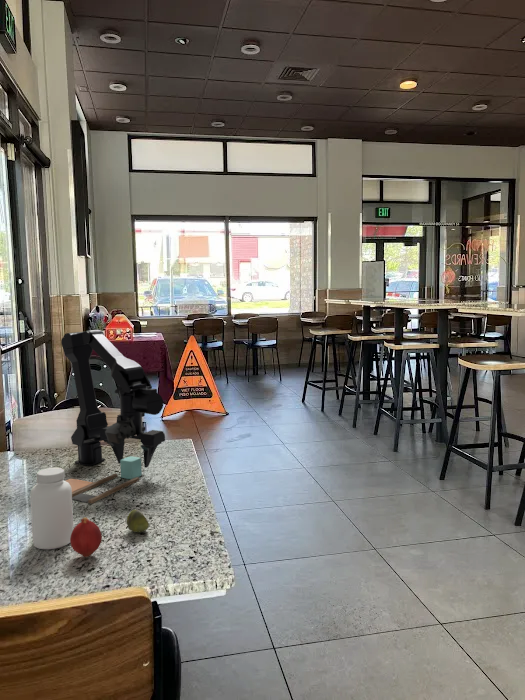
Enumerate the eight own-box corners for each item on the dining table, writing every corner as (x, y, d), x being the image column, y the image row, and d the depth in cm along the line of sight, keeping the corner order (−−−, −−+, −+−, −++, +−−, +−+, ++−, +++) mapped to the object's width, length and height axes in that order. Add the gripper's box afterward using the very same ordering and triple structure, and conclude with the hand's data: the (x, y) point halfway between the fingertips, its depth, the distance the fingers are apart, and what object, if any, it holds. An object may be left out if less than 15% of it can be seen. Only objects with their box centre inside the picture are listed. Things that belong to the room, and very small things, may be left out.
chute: (65, 498, 139) (65, 495, 139) (114, 476, 155) (114, 473, 155) (91, 503, 136) (91, 500, 135) (139, 480, 152) (139, 477, 151)
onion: (75, 550, 111) (73, 511, 110) (105, 548, 112) (103, 510, 111) (68, 564, 105) (65, 524, 105) (99, 563, 106) (97, 522, 105)
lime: (129, 527, 122) (128, 505, 121) (151, 527, 121) (151, 505, 121) (124, 536, 117) (123, 513, 117) (147, 536, 117) (146, 513, 116)
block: (120, 477, 154) (120, 460, 154) (130, 473, 158) (130, 456, 157) (131, 479, 153) (131, 461, 152) (141, 475, 156) (141, 458, 155)
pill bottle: (82, 536, 118) (78, 467, 116) (56, 553, 110) (52, 479, 108) (51, 531, 120) (47, 463, 119) (24, 547, 113) (19, 475, 111)
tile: (48, 490, 145) (47, 487, 145) (71, 481, 152) (71, 478, 152) (70, 495, 141) (70, 492, 141) (93, 485, 148) (93, 482, 148)
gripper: (84, 413, 151) (87, 469, 153) (139, 419, 143) (141, 478, 145) (112, 405, 161) (114, 458, 163) (165, 410, 153) (167, 466, 154)
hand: (133, 465), depth 156 cm, fingers open, 9 cm apart
